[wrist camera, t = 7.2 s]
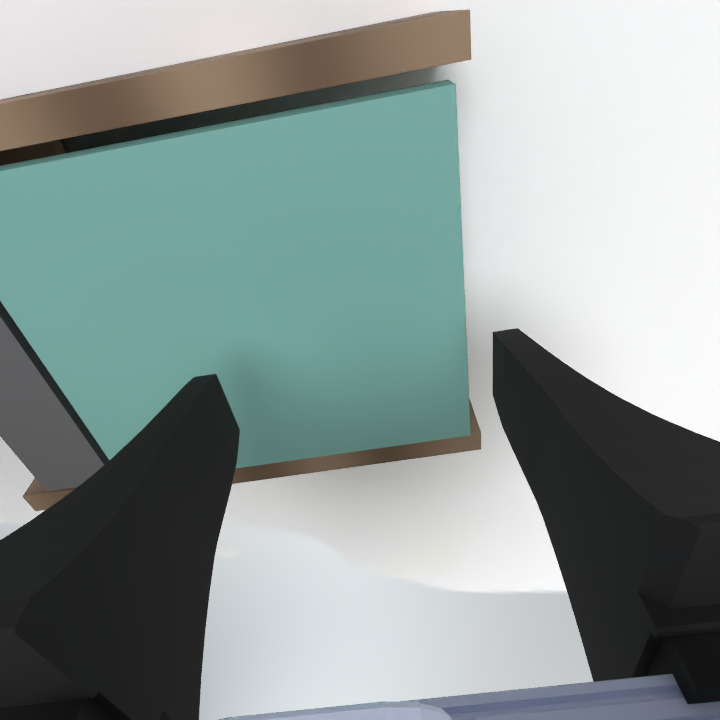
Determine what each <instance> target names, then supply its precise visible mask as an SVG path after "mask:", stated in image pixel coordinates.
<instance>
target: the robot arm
mask: <svg viewBox="0 0 720 720" xmlns="http://www.w3.org/2000/svg"><path fill="white" fill-rule="evenodd" d="M493 397H494V400H495V404H496V407H497V410H498V414H499V417H500V420H501V423H502V426H503V429H504V431H505V433H506V436H507V438H508V440H509V442H510V444H511V447H512V449H513V451H514V453H515V455H516V458H517V460H518V462H519V464H520V466H521V468H522V471H523V473H524V475H525V477H526V479H527V481H528V484H529V486H530V488H531V490H532V492H533V494H534V497H535V499H536V501H537V504H538V506H539V508H540V511H541V513H542V516H543V519H544V522H545V525H546V528H547V531H548V534H549V537H550V540H551V543H552V545H553V548H554V551H555V554H556V558H557V561H558V564H559V567H560V570H561V573H562V576H563V579H564V583H565V586H566V589H567V592H568V595H569V598H570V602H571V605H572V608H573V612H574V615H575V619H576V622H577V625H578V629H579V632H580V635H581V638H582V642H583V646H584V649H585V653H586V656H587V660H588V664H589V667H590V671H591V674H592V678H593V681H594V682H587V683H577V684H569V685H568V684H567V685H558V686H548V687H538V688H528V689H519V690H509V691H499V692H489V693H480V694H469V695H460V696H449V697H441V698H431V699H420V700H411V701H400V702H376V703H365V704H355V705H346V706H336V707H326V708H317V709H306V710H296V711H287V712H277V713H268V714H257V715H247V716H238V717H228V718H224V719H219V720H720V442H719V441H716V440H713V439H711V438H708V437H705V436H703V435H700V434H697V433H695V432H692V431H690V430H688V429H685V428H683V427H681V426H678V425H676V424H673V423H671V422H669V421H666V420H664V419H662V418H660V417H657V416H655V415H653V414H651V413H649V412H647V411H645V410H643V409H641V408H639V407H637V406H635V405H633V404H631V403H629V402H627V401H625V400H623V399H621V398H619V397H618V396H616V395H614V394H612V393H610V392H609V391H607V390H605V389H604V388H602V387H600V386H599V385H597V384H596V383H594V382H592V381H591V380H589V379H587V378H586V377H584V376H583V375H581V374H580V373H578V372H577V371H575V370H574V369H572V368H571V367H569V366H568V365H566V364H565V363H563V362H562V361H561V360H559V359H558V358H556V357H555V356H554V355H552V354H551V353H550V352H548V351H547V350H546V349H544V348H543V347H541V346H540V345H539V344H538V343H536V342H535V341H534V340H532V339H531V338H530V337H528V336H527V335H526V334H524V333H523V332H522V331H520V330H519V329H518V328H517V329H510V330H504V331H497V332H493ZM239 435H240V429H239V427H238V424H237V422H236V419H235V417H234V415H233V412H232V410H231V408H230V405H229V403H228V400H227V398H226V396H225V393H224V391H223V389H222V386H221V384H220V382H219V379H218V377H217V374H211V375H204V376H197V377H193V378H192V379H191V380H190V381H189V382H188V383H187V384H186V385H185V386H184V387H183V388H182V389H181V390H180V391H179V392H178V393H177V394H176V395H175V396H174V397H173V398H172V399H171V400H170V401H169V402H168V403H167V404H166V406H165V407H164V408H163V409H162V410H161V411H160V412H159V413H158V414H157V415H156V416H155V417H154V418H153V419H152V420H151V421H150V422H149V423H148V424H147V425H146V426H145V427H144V428H143V429H142V430H141V431H140V432H139V433H138V434H137V435H136V436H135V437H134V438H133V439H132V440H131V441H130V442H129V443H128V444H127V445H125V446H124V447H123V448H122V449H121V450H120V451H119V452H118V453H117V454H116V455H115V456H114V457H113V458H112V459H111V460H109V461H108V462H107V463H106V464H105V465H104V466H103V467H101V468H100V469H99V470H98V471H97V472H96V473H94V474H93V475H92V476H91V477H89V478H88V479H87V480H86V481H84V482H83V483H82V484H81V485H79V486H78V487H77V488H76V489H74V490H73V491H72V492H70V493H69V494H68V495H66V496H65V497H64V498H62V499H61V500H59V501H58V502H57V503H55V504H54V505H52V506H51V507H50V508H48V509H47V510H45V511H44V512H43V513H41V514H40V515H38V516H37V517H36V518H34V519H33V520H31V521H30V522H28V523H27V524H25V525H24V526H22V527H20V528H19V529H17V530H16V531H14V532H13V533H11V534H10V535H8V536H6V537H5V538H3V539H1V540H0V720H199V705H200V688H201V673H202V661H203V649H204V637H205V627H206V618H207V609H208V600H209V591H210V585H211V577H212V570H213V563H214V556H215V551H216V546H217V541H218V537H219V533H220V529H221V525H222V521H223V517H224V513H225V509H226V505H227V501H228V498H229V494H230V490H231V485H232V481H233V477H234V473H235V469H236V464H237V456H238V447H239Z"/></svg>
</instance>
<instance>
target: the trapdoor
mask: <svg viewBox="0 0 720 720" xmlns="http://www.w3.org/2000/svg"><path fill="white" fill-rule="evenodd" d="M211 374H217V377H218V379H219V382H220V384H221V386H222V389H223V391H224V393H225V396H226V398H227V400H228V403H229V405H230V408H231V410H232V412H233V415H234V417H235V419H236V422H237V424H238V427H239V429H240V435H239V447H238V456H237V464H236V468H243V467H250V466H257V465H264V464H271V463H278V462H285V461H292V460H299V459H306V458H314V457H321V456H328V455H335V454H342V453H349V452H356V451H363V450H370V449H377V448H384V447H392V446H399V445H406V444H413V443H420V442H427V441H434V440H441V439H448V438H455V437H462V436H470V412H469V388H468V365H467V341H466V318H465V294H464V271H463V248H462V224H461V201H460V177H459V154H458V130H457V107H456V84H454V83H453V82H451V81H449V80H444V81H439V82H434V83H429V84H423V85H418V86H413V87H408V88H403V89H397V90H392V91H387V92H382V93H377V94H371V95H366V96H361V97H356V98H351V99H345V100H340V101H335V102H330V103H325V104H319V105H314V106H309V107H304V108H299V109H293V110H288V111H283V112H278V113H273V114H267V115H262V116H257V117H252V118H247V119H241V120H236V121H231V122H226V123H221V124H215V125H210V126H205V127H200V128H195V129H189V130H184V131H179V132H174V133H168V134H163V135H158V136H153V137H148V138H142V139H137V140H132V141H127V142H122V143H116V144H111V145H106V146H101V147H96V148H90V149H85V150H80V151H75V152H70V153H64V154H59V155H54V156H49V157H44V158H38V159H33V160H28V161H23V162H18V163H12V164H7V165H2V166H0V436H1V437H2V439H3V440H4V441H5V442H6V443H7V444H8V446H9V447H10V448H11V449H12V450H13V452H14V453H15V454H16V455H17V456H18V458H19V459H20V460H21V461H22V462H23V463H24V465H25V466H26V467H27V468H28V469H29V471H30V472H31V473H32V474H33V475H34V477H35V478H36V479H37V480H38V481H39V482H40V484H41V485H42V486H43V487H44V488H45V490H46V491H54V490H61V489H68V488H75V487H78V486H79V485H81V484H82V483H83V482H84V481H86V480H87V479H88V478H89V477H91V476H92V475H93V474H94V473H96V472H97V471H98V470H99V469H100V468H101V467H103V466H104V465H105V464H106V463H107V462H108V461H109V460H111V459H112V458H113V457H114V456H115V455H116V454H117V453H118V452H119V451H120V450H121V449H122V448H123V447H124V446H125V445H127V444H128V443H129V442H130V441H131V440H132V439H133V438H134V437H135V436H136V435H137V434H138V433H139V432H140V431H141V430H142V429H143V428H144V427H145V426H146V425H147V424H148V423H149V422H150V421H151V420H152V419H153V418H154V417H155V416H156V415H157V414H158V413H159V412H160V411H161V410H162V409H163V408H164V407H165V406H166V404H167V403H168V402H169V401H170V400H171V399H172V398H173V397H174V396H175V395H176V394H177V393H178V392H179V391H180V390H181V389H182V388H183V387H184V386H185V385H186V384H187V383H188V382H189V381H190V380H191V379H192V378H193V377H197V376H204V375H211Z"/></svg>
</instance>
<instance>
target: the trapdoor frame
mask: <svg viewBox="0 0 720 720" xmlns="http://www.w3.org/2000/svg"><path fill="white" fill-rule="evenodd" d="M466 60H471V34H470V10H456V11H440V12H432V13H427V14H422V15H417V16H412V17H407V18H402V19H397V20H392V21H387V22H382V23H377V24H373V25H368V26H363V27H358V28H353V29H348V30H343V31H338V32H333V33H328V34H323V35H318V36H313V37H308V38H303V39H298V40H293V41H288V42H284V43H279V44H274V45H269V46H264V47H259V48H254V49H249V50H244V51H239V52H234V53H229V54H224V55H219V56H214V57H209V58H204V59H199V60H195V61H190V62H185V63H180V64H175V65H170V66H165V67H160V68H155V69H150V70H145V71H140V72H135V73H130V74H125V75H120V76H115V77H110V78H105V79H101V80H96V81H91V82H86V83H81V84H76V85H71V86H66V87H61V88H56V89H51V90H46V91H41V92H36V93H31V94H26V95H21V96H16V97H12V98H7V99H2V100H0V166H2V165H7V164H12V163H18V162H23V161H28V160H33V159H38V158H44V157H49V156H54V155H59V154H64V153H66V152H65V150H64V148H63V146H62V144H61V142H60V139H65V138H70V137H75V136H80V135H85V134H90V133H96V132H101V131H106V130H111V129H116V128H121V127H126V126H132V125H137V124H142V123H147V122H152V121H157V120H162V119H168V118H173V117H178V116H183V115H188V114H193V113H198V112H204V111H209V110H214V109H219V108H224V107H229V106H234V105H240V104H245V103H250V102H255V101H260V100H265V99H270V98H276V97H281V96H286V95H291V94H296V93H301V92H306V91H312V90H317V89H322V88H327V87H332V86H337V85H342V84H348V83H353V82H358V81H363V80H368V79H373V78H378V77H384V76H389V75H394V74H399V73H404V72H409V71H414V70H420V69H425V68H430V67H435V66H440V65H445V64H450V63H456V62H461V61H466ZM469 412H470V436H462V437H455V438H448V439H441V440H434V441H427V442H420V443H413V444H406V445H399V446H392V447H384V448H377V449H370V450H363V451H356V452H349V453H342V454H335V455H328V456H321V457H314V458H306V459H299V460H292V461H285V462H278V463H271V464H264V465H257V466H250V467H243V468H236V469H235V473H234V477H233V481H232V484H234V483H241V482H248V481H255V480H263V479H270V478H277V477H284V476H291V475H299V474H306V473H313V472H320V471H327V470H335V469H342V468H349V467H356V466H363V465H371V464H378V463H385V462H392V461H399V460H407V459H414V458H421V457H428V456H435V455H443V454H450V453H457V452H464V451H472V450H479V449H481V432H480V429H479V426H478V423H477V420H476V417H475V414H474V411H473V408H472V405H471V402H470V399H469ZM76 488H77V487H75V488H68V489H61V490H54V491H46V490H45V488H44V487H43V486H42V485H41V484H40V482H39V481H38V480H37V479H36V478H35V479H34V480H33V482H32V483H31V485H30V486H29V488H28V489H27V491H26V492H25V494H24V495H23V498H24V499H25V500H26V501H27V502H28V503H29V504H30V505H31V507H32V508H33V509H34V510H35V511H39V510H47V509H48V508H50V507H51V506H52V505H54V504H55V503H57V502H58V501H59V500H61V499H62V498H64V497H65V496H66V495H68V494H69V493H70V492H72V491H73V490H74V489H76Z"/></svg>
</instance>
